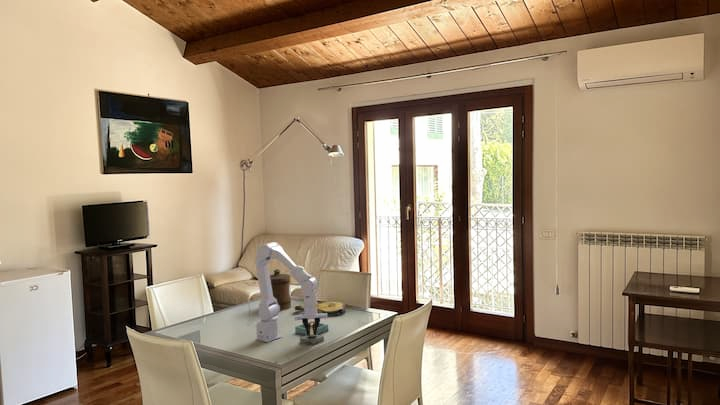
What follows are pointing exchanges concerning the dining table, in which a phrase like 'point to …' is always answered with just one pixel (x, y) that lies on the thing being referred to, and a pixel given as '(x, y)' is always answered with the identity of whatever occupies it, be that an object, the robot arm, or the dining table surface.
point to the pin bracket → (311, 341)
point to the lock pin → (311, 330)
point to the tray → (320, 329)
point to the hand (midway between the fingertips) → (311, 335)
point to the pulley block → (327, 308)
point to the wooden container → (281, 289)
